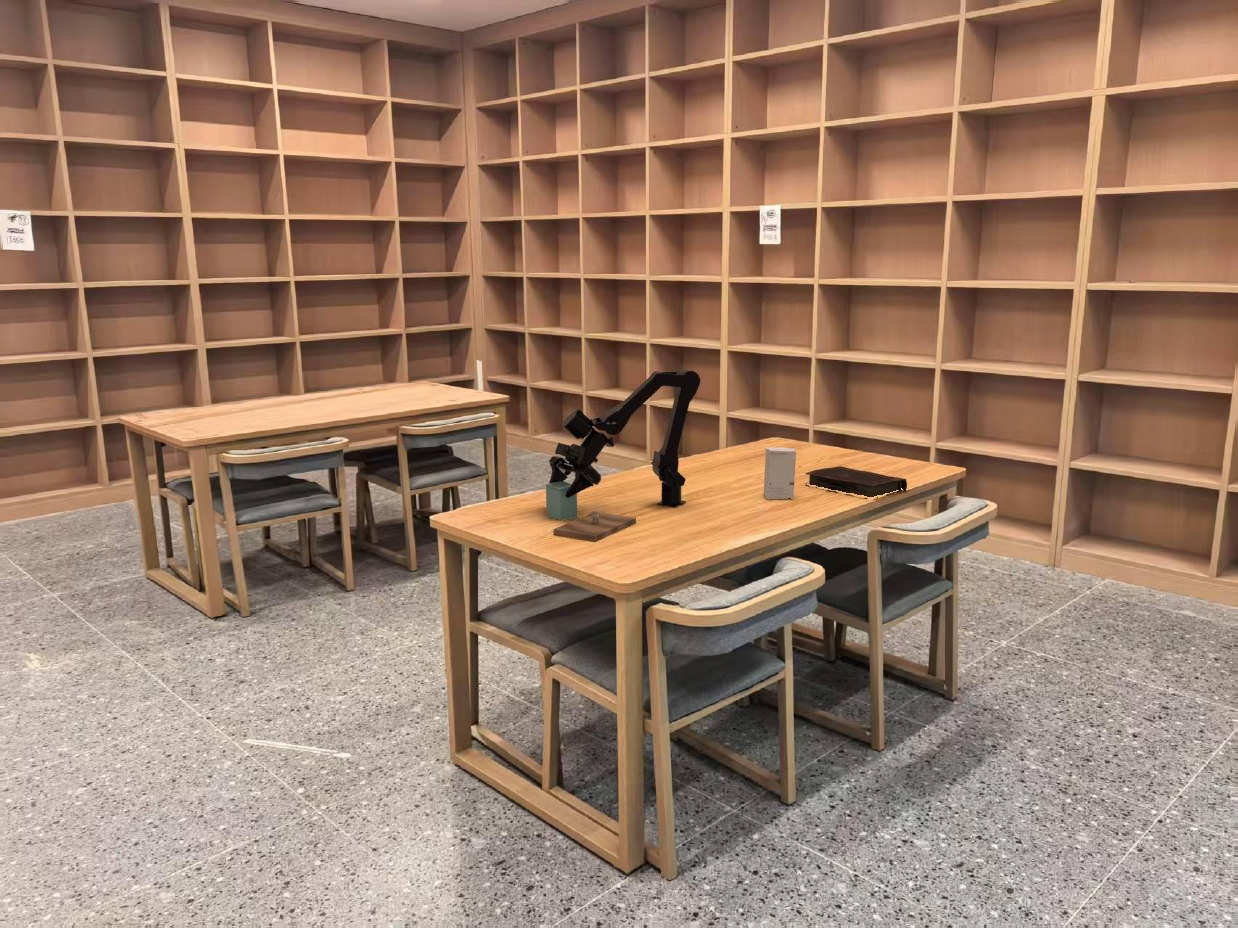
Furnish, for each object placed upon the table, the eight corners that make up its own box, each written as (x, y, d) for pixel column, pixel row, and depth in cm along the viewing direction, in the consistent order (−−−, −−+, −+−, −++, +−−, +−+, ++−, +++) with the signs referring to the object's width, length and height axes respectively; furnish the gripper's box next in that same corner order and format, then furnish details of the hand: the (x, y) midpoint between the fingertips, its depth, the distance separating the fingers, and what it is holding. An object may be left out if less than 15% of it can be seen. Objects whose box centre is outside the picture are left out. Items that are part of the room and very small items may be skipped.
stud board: (595, 517, 256) (595, 498, 255) (636, 523, 250) (635, 504, 249) (553, 534, 240) (553, 515, 238) (595, 541, 233) (595, 521, 232)
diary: (840, 479, 302) (841, 464, 301) (906, 493, 283) (907, 477, 282) (802, 487, 291) (803, 471, 290) (869, 502, 271) (870, 485, 270)
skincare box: (766, 500, 273) (768, 450, 270) (763, 495, 279) (764, 446, 276) (795, 499, 274) (796, 450, 271) (790, 494, 280) (792, 446, 277)
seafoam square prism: (563, 512, 262) (562, 481, 260) (577, 517, 256) (576, 485, 254) (546, 515, 258) (545, 484, 257) (560, 520, 253) (559, 488, 251)
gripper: (553, 427, 262) (521, 471, 258) (591, 436, 247) (557, 482, 243) (577, 451, 268) (545, 494, 264) (615, 461, 254) (583, 507, 249)
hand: (557, 494), depth 255 cm, fingers open, 9 cm apart
